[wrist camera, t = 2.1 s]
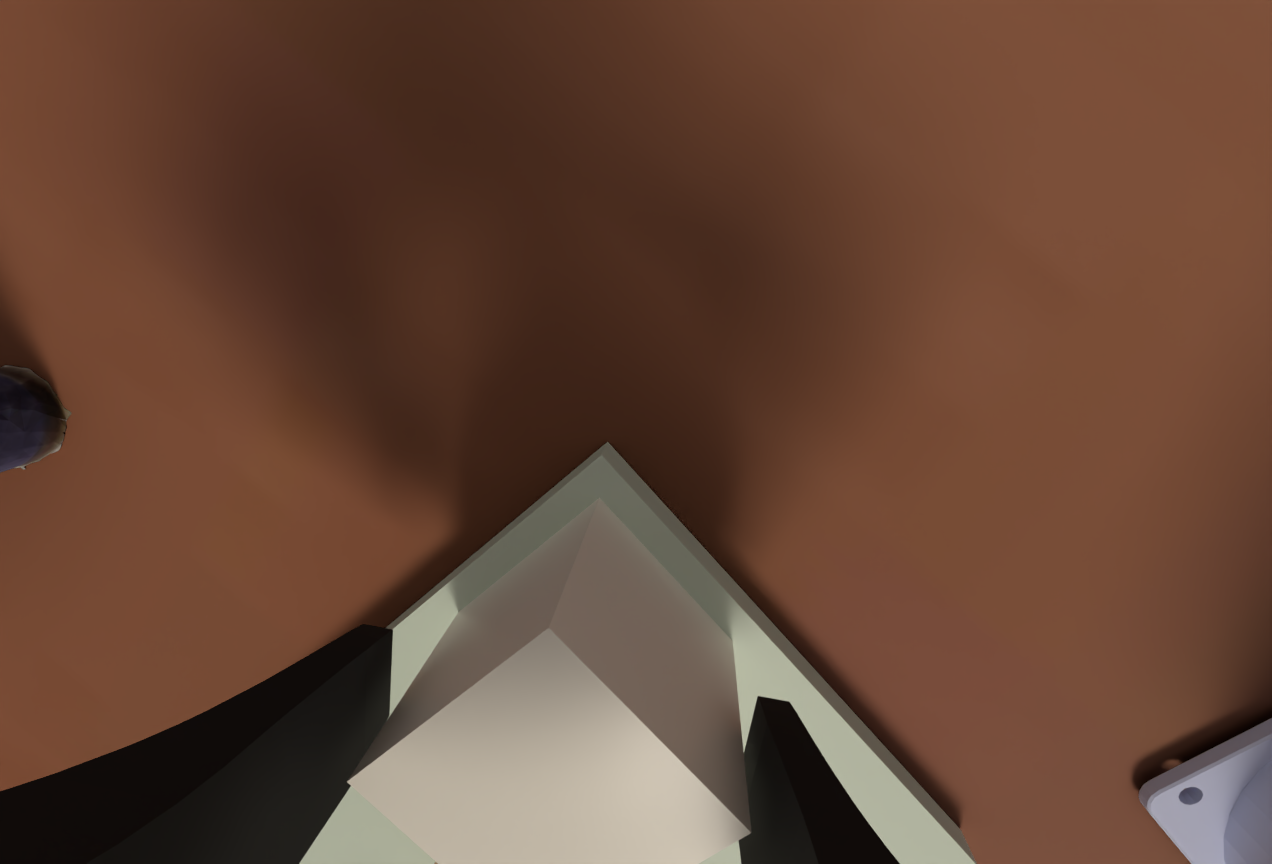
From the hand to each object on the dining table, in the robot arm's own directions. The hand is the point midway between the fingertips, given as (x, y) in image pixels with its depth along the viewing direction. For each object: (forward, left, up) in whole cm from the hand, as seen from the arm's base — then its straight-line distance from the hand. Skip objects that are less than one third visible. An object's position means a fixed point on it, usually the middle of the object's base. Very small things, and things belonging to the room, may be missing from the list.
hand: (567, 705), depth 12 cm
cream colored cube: (0, 0, -3) cm, 3 cm away
